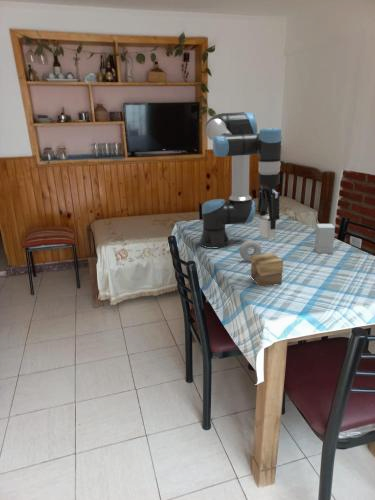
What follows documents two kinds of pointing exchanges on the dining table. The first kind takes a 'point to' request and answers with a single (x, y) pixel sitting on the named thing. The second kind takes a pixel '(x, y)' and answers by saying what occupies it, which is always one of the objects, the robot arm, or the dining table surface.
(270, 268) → the oak block
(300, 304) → the dining table surface
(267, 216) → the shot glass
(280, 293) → the dining table surface
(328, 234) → the supplement box
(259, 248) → the donut
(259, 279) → the walnut block
